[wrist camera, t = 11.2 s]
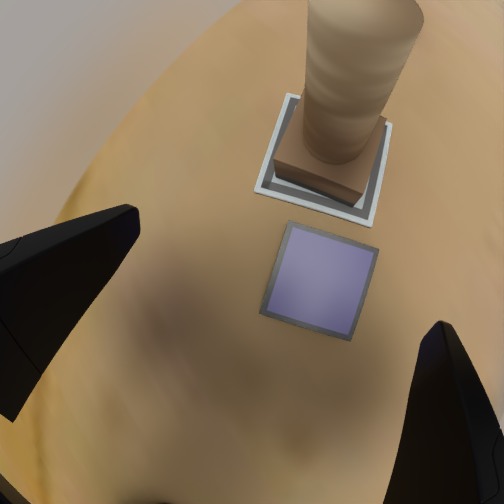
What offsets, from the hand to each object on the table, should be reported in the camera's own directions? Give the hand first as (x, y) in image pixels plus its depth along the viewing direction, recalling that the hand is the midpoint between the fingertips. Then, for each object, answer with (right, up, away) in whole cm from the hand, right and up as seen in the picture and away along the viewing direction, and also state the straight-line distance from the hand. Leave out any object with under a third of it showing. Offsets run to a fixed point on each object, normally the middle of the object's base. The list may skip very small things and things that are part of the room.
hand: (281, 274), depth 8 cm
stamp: (+4, +6, +10) cm, 13 cm away
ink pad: (+3, -1, +10) cm, 11 cm away
